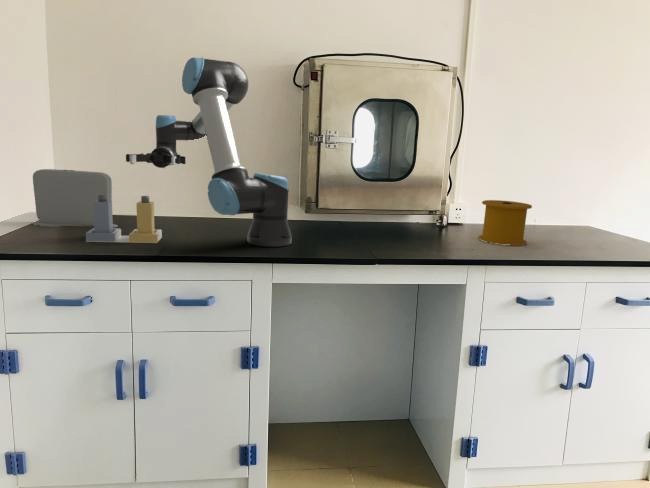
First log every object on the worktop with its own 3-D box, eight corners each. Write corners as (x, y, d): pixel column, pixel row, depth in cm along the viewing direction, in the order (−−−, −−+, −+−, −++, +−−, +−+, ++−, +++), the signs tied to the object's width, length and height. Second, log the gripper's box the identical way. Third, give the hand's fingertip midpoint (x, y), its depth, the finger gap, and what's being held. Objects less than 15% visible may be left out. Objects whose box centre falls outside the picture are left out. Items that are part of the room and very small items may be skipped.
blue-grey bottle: (113, 237, 171) (111, 194, 168) (109, 240, 166) (107, 196, 163) (98, 236, 170) (96, 193, 167) (94, 239, 166) (92, 195, 163)
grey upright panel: (122, 226, 195) (120, 171, 190) (109, 230, 185) (106, 174, 181) (42, 220, 197) (39, 166, 193) (25, 224, 188) (21, 168, 183)
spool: (515, 248, 191) (520, 207, 187) (469, 239, 202) (474, 201, 199) (534, 242, 204) (539, 204, 200) (490, 234, 215) (494, 198, 212)
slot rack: (162, 239, 176) (162, 229, 175) (157, 246, 166) (156, 235, 165) (94, 237, 173) (94, 227, 172) (85, 244, 163) (84, 233, 162)
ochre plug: (154, 237, 173) (153, 195, 170) (152, 240, 168) (151, 197, 165) (140, 237, 172) (139, 195, 169) (137, 240, 168) (136, 197, 165)
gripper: (196, 168, 200) (189, 172, 180) (128, 166, 197) (113, 170, 176) (196, 148, 199) (189, 150, 178) (127, 145, 195) (112, 147, 174)
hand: (151, 160), depth 177 cm, fingers open, 13 cm apart
